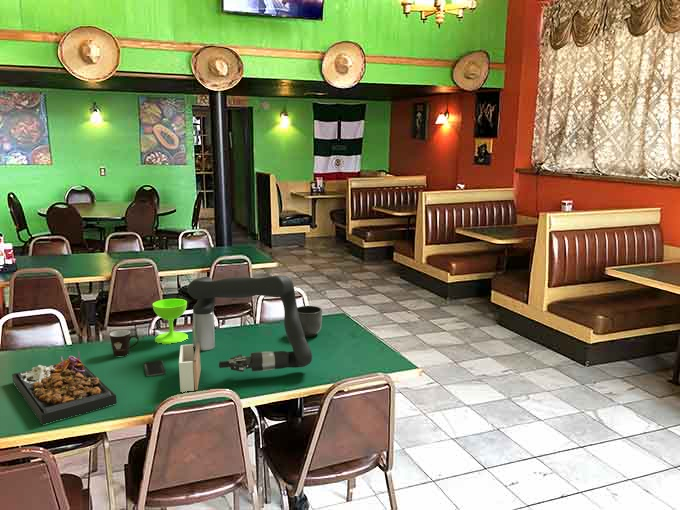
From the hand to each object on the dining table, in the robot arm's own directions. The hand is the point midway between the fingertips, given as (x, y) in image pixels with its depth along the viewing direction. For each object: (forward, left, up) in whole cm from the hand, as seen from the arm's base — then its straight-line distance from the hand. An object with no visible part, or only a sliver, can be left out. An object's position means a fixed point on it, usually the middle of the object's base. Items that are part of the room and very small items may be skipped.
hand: (219, 364), depth 222 cm
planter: (+4, +66, -7) cm, 66 cm away
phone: (-32, -2, -8) cm, 33 cm away
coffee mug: (-56, +4, -7) cm, 57 cm away
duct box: (-11, -6, -7) cm, 14 cm away
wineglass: (-52, +30, -7) cm, 60 cm away
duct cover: (-8, -3, -7) cm, 11 cm away
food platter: (-46, -36, -8) cm, 59 cm away
